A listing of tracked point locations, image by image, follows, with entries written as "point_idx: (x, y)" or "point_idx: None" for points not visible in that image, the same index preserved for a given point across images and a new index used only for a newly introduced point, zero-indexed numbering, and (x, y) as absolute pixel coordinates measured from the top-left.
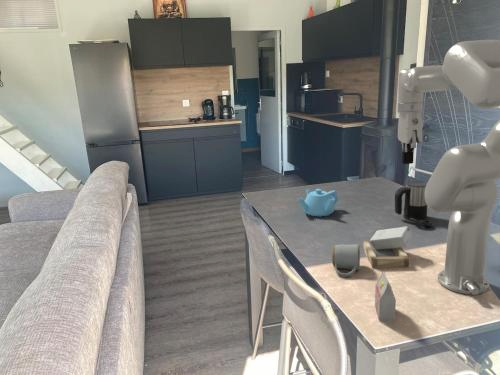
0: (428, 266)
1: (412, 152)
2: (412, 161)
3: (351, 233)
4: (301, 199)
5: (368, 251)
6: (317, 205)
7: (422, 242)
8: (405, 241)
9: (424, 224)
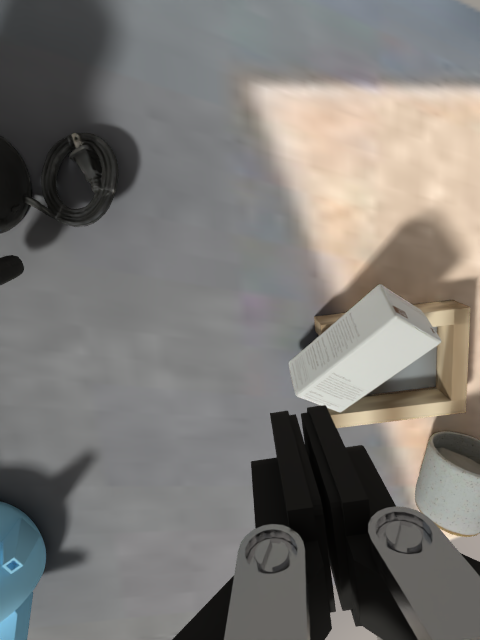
0: (451, 240)
1: (368, 507)
2: (329, 420)
3: (194, 440)
4: None
5: (408, 418)
6: (24, 583)
7: (262, 215)
8: (425, 319)
9: (101, 170)
